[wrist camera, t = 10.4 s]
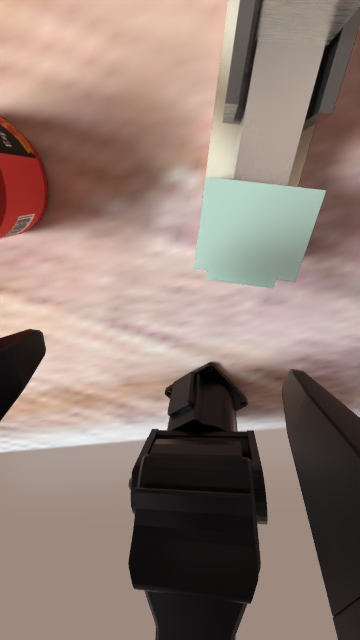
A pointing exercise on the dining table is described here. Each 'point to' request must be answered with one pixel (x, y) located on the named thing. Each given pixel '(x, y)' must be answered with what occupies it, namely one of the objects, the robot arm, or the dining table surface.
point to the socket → (254, 231)
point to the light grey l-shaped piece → (283, 83)
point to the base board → (227, 134)
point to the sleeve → (325, 81)
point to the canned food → (19, 183)
